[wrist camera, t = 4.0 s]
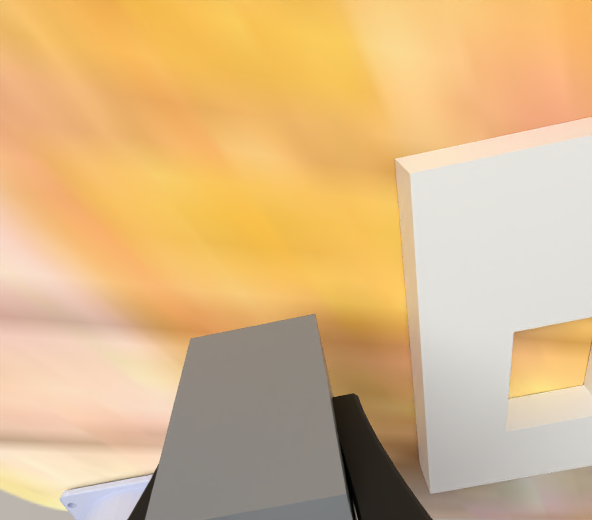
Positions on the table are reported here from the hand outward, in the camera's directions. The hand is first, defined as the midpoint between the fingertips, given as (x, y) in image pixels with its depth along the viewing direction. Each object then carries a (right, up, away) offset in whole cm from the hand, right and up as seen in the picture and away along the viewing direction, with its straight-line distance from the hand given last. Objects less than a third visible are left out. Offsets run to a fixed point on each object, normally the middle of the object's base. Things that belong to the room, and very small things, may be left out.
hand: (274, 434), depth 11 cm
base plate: (+13, +2, +10) cm, 17 cm away
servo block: (0, +1, +1) cm, 2 cm away
